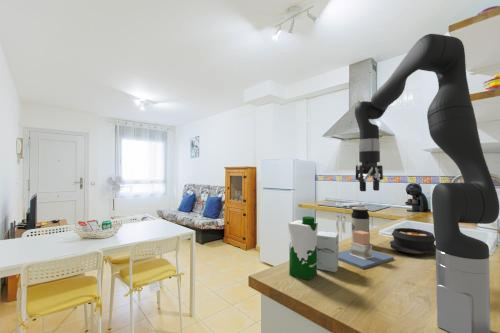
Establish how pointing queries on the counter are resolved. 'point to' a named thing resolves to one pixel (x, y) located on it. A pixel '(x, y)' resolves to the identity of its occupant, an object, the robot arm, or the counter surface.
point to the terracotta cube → (361, 237)
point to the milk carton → (303, 248)
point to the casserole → (413, 241)
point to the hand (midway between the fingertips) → (369, 190)
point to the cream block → (361, 250)
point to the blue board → (362, 262)
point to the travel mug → (360, 219)
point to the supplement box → (327, 251)
